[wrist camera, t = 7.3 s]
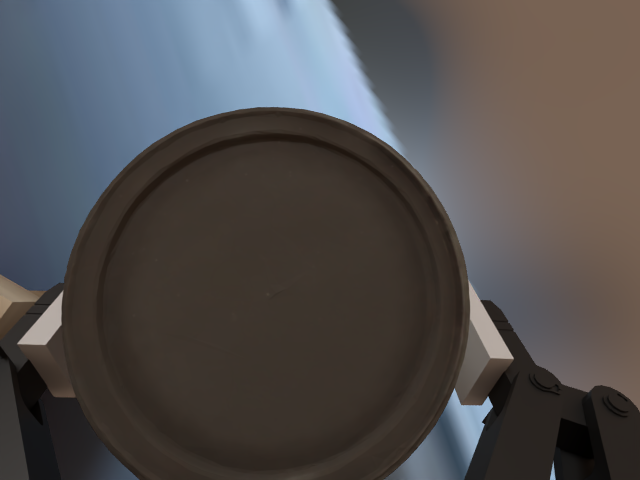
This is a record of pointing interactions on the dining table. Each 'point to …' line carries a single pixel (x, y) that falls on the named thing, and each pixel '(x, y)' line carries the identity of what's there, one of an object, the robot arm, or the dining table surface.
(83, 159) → the dining table surface
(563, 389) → the robot arm
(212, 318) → the coffee can
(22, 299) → the birch shelf
